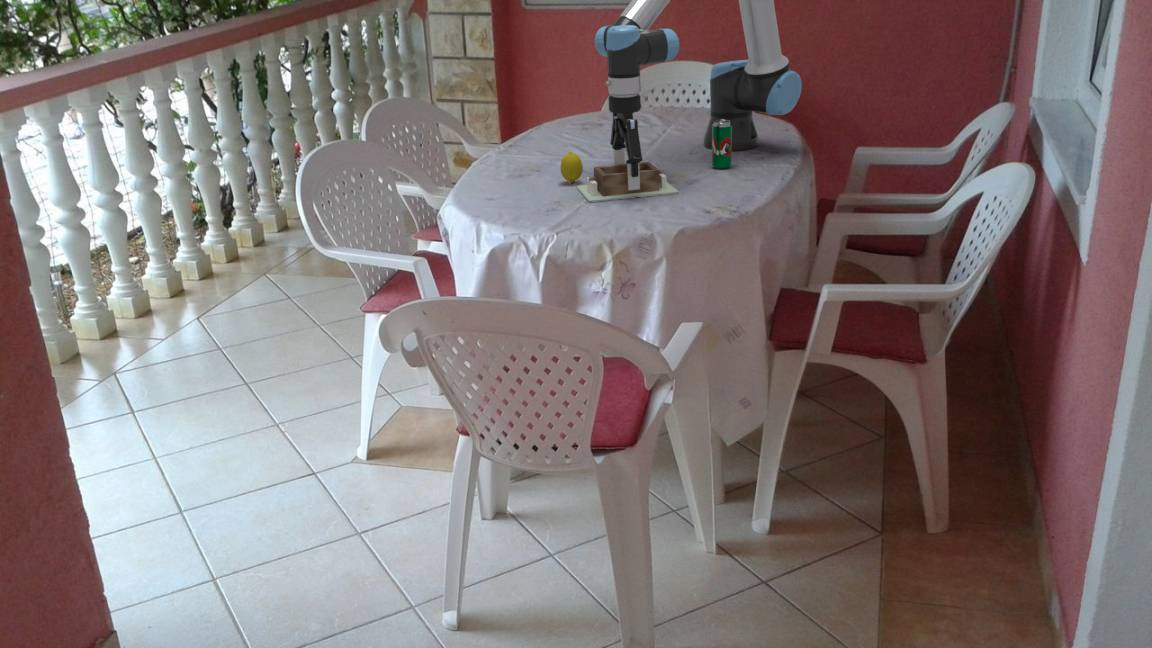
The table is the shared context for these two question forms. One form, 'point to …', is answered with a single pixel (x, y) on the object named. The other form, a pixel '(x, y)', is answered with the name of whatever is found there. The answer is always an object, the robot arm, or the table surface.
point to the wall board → (593, 194)
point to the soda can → (722, 144)
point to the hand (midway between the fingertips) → (626, 182)
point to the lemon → (571, 167)
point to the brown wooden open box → (625, 179)
